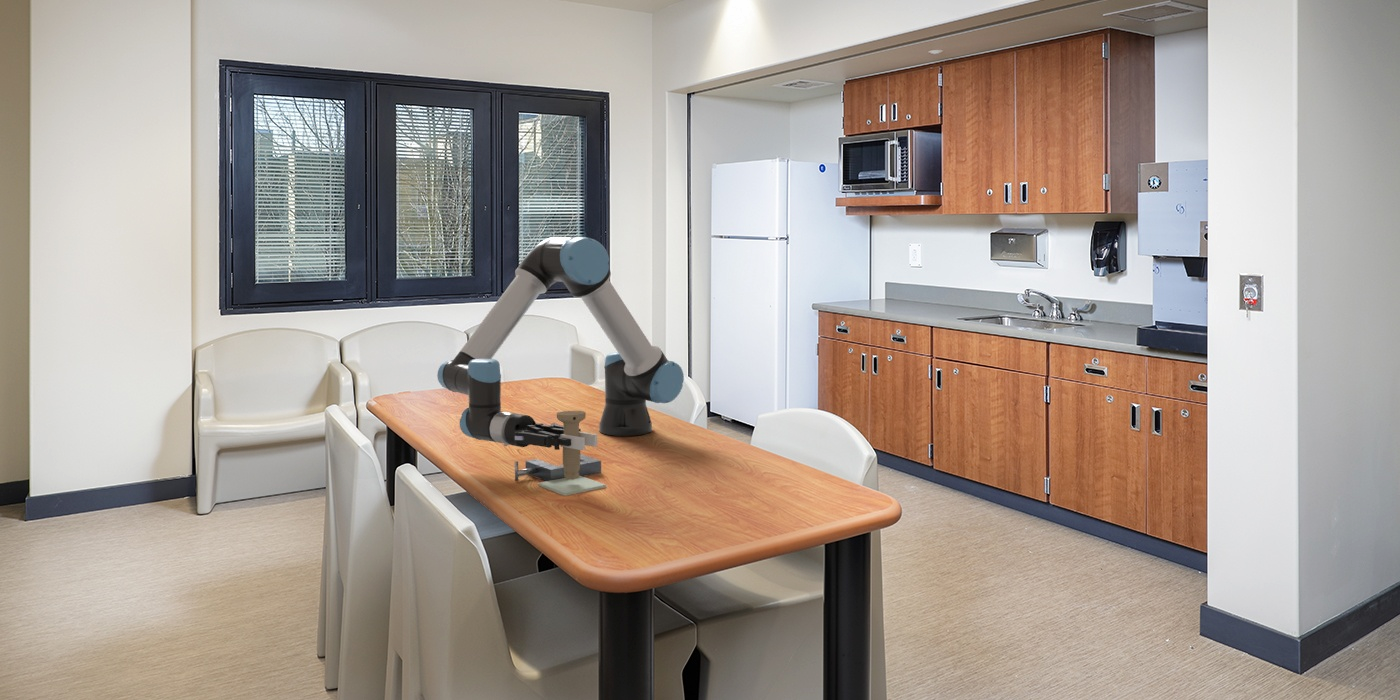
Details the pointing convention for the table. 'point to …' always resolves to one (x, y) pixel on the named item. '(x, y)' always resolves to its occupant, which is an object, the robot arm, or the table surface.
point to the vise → (557, 469)
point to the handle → (571, 455)
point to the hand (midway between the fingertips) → (589, 442)
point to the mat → (571, 485)
